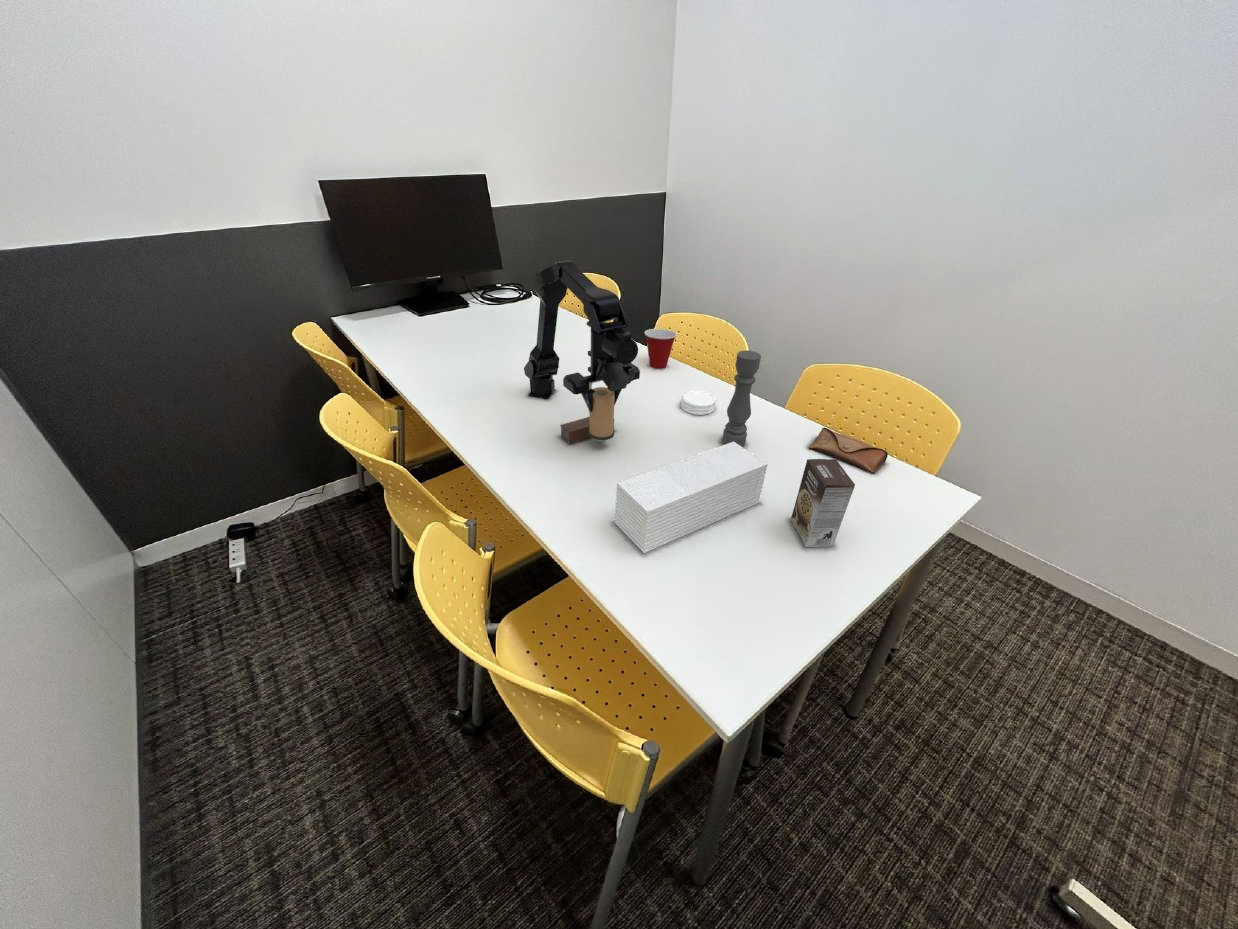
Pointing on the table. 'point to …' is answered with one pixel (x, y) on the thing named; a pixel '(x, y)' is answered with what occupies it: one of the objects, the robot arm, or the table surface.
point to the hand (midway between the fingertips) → (601, 408)
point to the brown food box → (821, 502)
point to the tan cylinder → (602, 415)
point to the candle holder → (741, 398)
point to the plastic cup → (659, 346)
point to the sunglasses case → (850, 450)
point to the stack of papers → (688, 495)
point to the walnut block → (575, 430)
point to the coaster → (698, 402)
